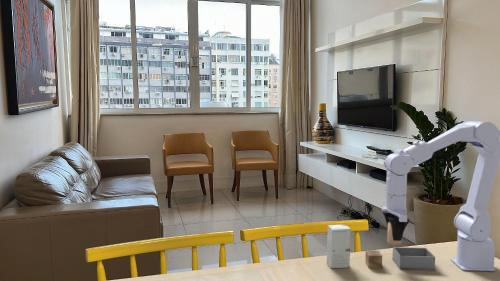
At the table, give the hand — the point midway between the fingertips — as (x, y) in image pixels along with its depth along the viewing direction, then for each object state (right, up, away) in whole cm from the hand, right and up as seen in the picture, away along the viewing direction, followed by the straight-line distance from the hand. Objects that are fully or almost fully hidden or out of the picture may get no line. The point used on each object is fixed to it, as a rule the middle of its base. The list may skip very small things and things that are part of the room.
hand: (394, 237), depth 115 cm
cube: (-6, -9, +1) cm, 11 cm away
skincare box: (-17, -9, +1) cm, 19 cm away
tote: (+6, -9, +2) cm, 11 cm away
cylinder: (0, -2, 0) cm, 2 cm away
